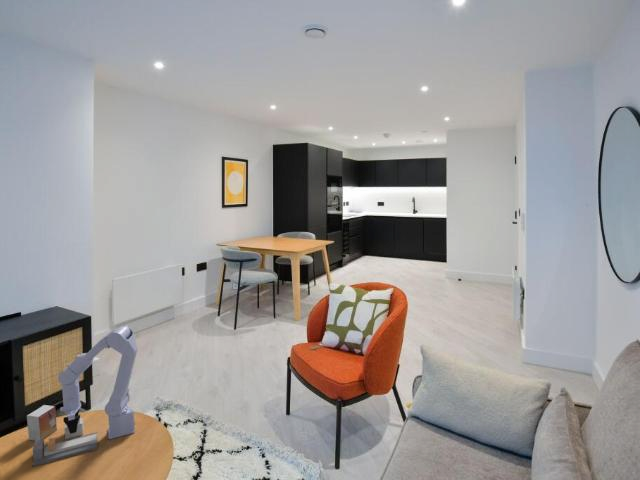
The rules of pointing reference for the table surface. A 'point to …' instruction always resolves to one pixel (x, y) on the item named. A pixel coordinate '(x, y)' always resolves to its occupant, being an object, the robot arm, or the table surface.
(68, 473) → the table surface
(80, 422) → the block
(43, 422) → the small box
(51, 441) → the orange block
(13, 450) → the table surface
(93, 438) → the rail board
